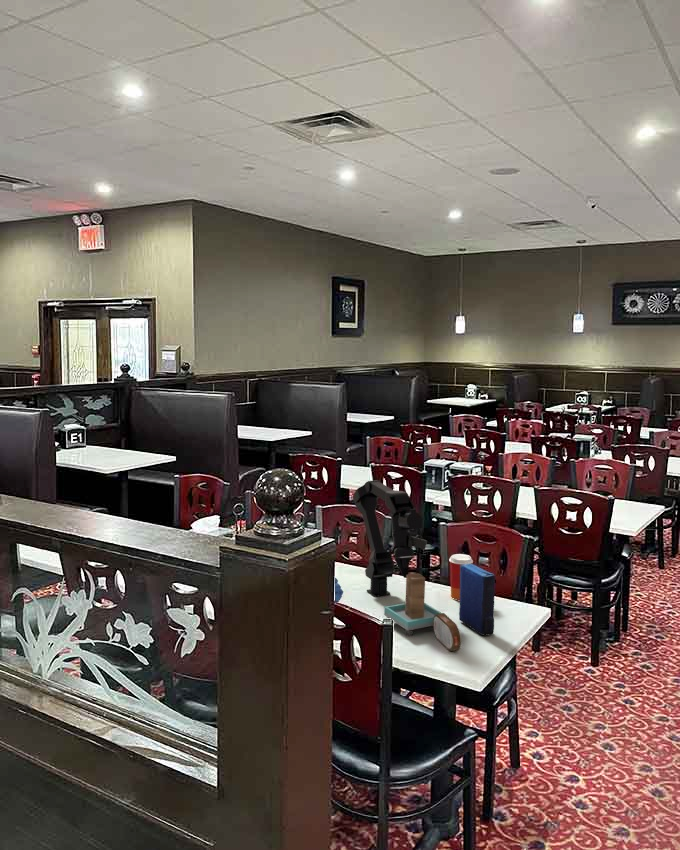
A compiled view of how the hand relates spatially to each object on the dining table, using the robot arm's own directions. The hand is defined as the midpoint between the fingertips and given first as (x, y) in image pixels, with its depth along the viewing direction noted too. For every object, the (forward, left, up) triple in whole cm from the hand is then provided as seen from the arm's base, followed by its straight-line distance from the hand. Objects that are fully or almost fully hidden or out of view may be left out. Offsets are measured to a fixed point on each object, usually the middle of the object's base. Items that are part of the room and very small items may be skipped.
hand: (404, 576), depth 253 cm
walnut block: (+13, -4, -8) cm, 16 cm away
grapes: (-10, -21, -12) cm, 26 cm away
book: (+23, +13, -12) cm, 29 cm away
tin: (+29, -3, -12) cm, 32 cm away
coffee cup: (-2, +25, -12) cm, 28 cm away
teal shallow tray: (+13, -4, -12) cm, 18 cm away
